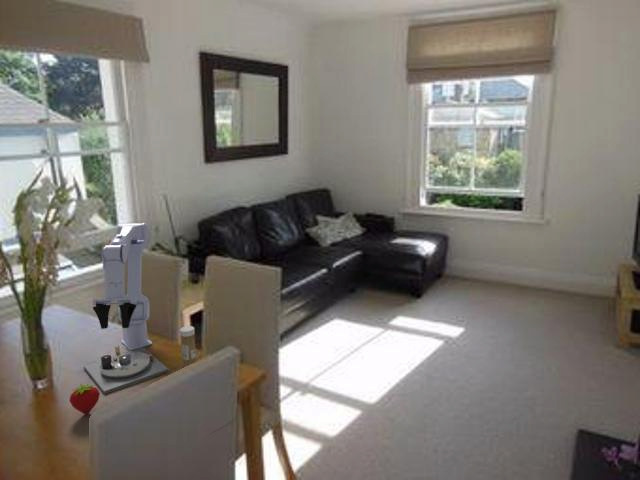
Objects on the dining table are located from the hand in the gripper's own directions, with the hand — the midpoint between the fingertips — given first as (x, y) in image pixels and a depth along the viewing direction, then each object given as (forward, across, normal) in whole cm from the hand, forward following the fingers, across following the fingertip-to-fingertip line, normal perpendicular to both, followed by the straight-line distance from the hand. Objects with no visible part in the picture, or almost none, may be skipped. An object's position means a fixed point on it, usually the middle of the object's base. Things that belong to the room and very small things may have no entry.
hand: (114, 328), depth 151 cm
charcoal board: (+14, -4, +10) cm, 18 cm away
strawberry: (+23, 0, -12) cm, 26 cm away
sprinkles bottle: (+15, +15, +18) cm, 28 cm away
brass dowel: (+12, -10, +15) cm, 22 cm away
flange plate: (+13, -3, +10) cm, 17 cm away
